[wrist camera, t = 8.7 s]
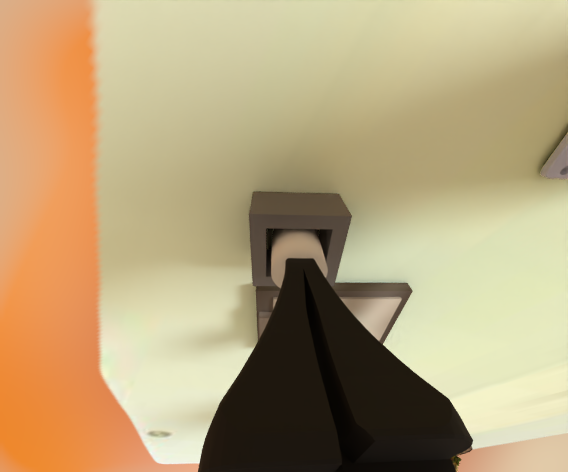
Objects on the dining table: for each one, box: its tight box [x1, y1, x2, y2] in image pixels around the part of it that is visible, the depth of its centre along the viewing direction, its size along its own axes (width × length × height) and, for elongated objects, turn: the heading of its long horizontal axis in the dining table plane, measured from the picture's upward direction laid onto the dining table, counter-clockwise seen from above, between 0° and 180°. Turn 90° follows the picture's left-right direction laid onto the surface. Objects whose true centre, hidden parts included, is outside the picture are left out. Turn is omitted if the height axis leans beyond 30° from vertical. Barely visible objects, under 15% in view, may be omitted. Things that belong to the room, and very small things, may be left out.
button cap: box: [271, 228, 328, 288], centre depth 12 cm, size 3×3×3 cm
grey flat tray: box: [256, 283, 412, 344], centre depth 19 cm, size 12×9×1 cm
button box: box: [249, 192, 352, 286], centre depth 13 cm, size 5×5×3 cm
